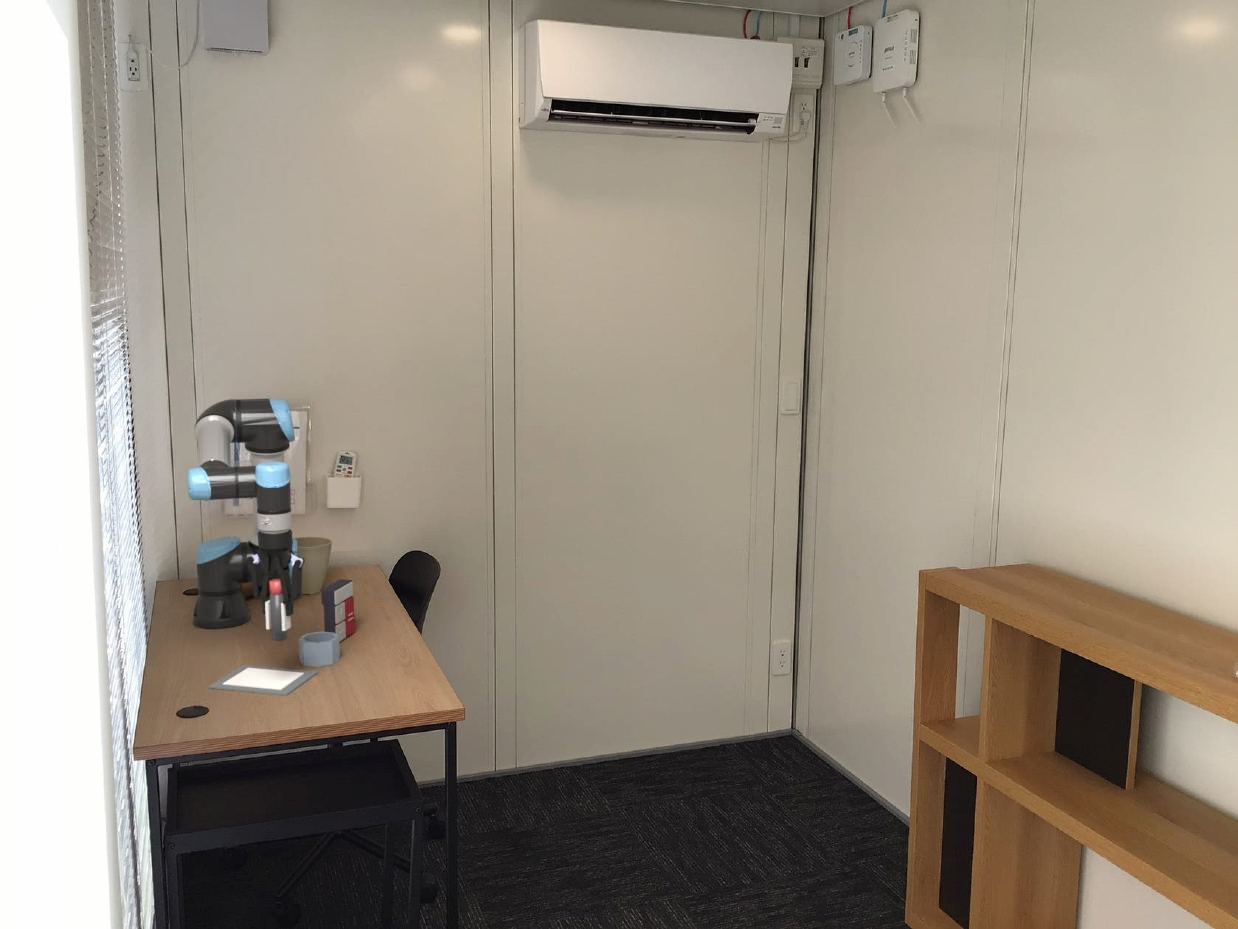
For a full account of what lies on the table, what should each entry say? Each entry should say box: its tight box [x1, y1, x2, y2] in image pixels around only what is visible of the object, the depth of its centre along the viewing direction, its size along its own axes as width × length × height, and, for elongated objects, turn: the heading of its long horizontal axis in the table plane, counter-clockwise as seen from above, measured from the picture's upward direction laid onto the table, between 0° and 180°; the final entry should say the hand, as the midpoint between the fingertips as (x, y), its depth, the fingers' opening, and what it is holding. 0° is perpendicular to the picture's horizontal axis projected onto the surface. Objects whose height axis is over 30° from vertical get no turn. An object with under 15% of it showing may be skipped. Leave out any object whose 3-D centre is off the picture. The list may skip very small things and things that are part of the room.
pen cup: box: [298, 631, 341, 668], centre depth 261 cm, size 9×9×6 cm
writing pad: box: [207, 664, 319, 697], centre depth 247 cm, size 20×15×1 cm
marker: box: [269, 579, 288, 642], centre depth 240 cm, size 3×3×14 cm
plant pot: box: [291, 536, 333, 595], centre depth 321 cm, size 15×15×16 cm
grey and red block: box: [320, 578, 356, 643], centre depth 277 cm, size 11×4×15 cm, turn 168°
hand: (278, 628), depth 241 cm, fingers closed on marker, 3 cm apart
